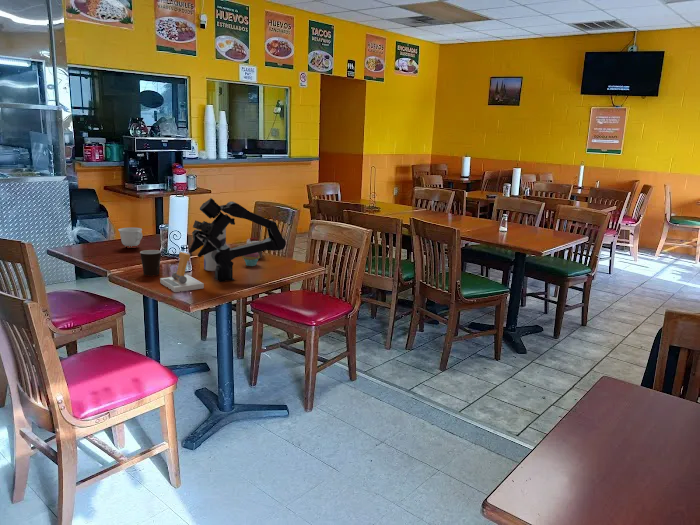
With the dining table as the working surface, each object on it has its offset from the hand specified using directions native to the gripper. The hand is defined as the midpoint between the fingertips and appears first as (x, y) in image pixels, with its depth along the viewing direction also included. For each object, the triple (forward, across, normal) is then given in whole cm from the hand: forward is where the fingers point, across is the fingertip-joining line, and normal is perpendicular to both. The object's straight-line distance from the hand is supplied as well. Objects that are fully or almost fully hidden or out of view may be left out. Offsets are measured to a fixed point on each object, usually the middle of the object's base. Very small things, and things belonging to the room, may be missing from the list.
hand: (193, 254), depth 229 cm
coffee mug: (+15, -25, +3) cm, 29 cm away
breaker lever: (+11, 0, +2) cm, 12 cm away
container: (-4, -20, +22) cm, 30 cm away
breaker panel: (+13, 0, +5) cm, 14 cm away
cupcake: (-16, -19, +35) cm, 43 cm away
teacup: (+9, -82, +9) cm, 83 cm away
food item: (-24, -37, +43) cm, 62 cm away
